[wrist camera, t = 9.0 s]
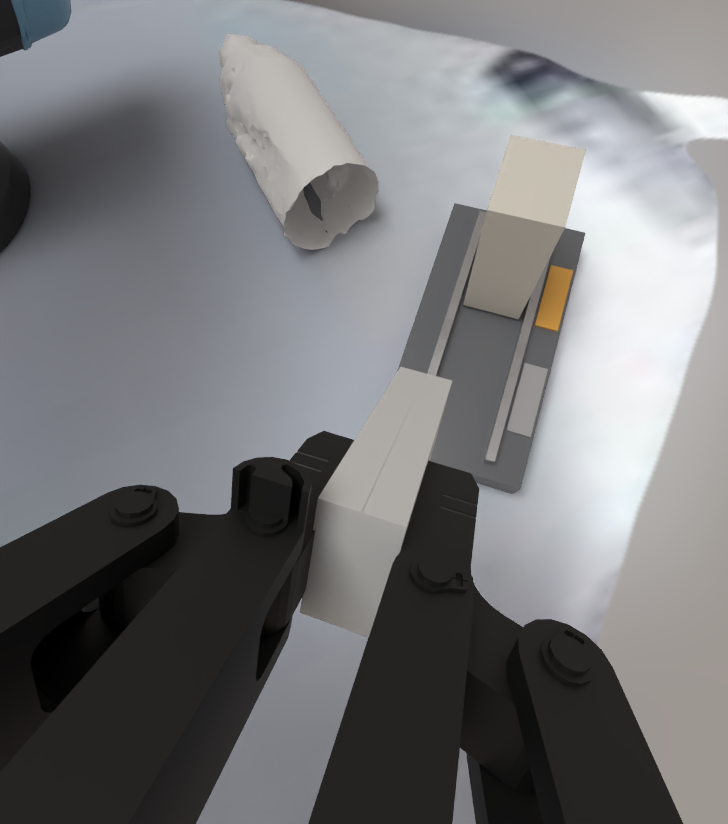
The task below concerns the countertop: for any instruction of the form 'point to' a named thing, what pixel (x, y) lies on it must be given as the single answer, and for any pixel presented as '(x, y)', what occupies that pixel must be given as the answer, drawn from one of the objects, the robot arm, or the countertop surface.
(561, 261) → the switch plate
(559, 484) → the countertop surface
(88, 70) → the countertop surface
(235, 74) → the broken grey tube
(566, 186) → the switch tab
